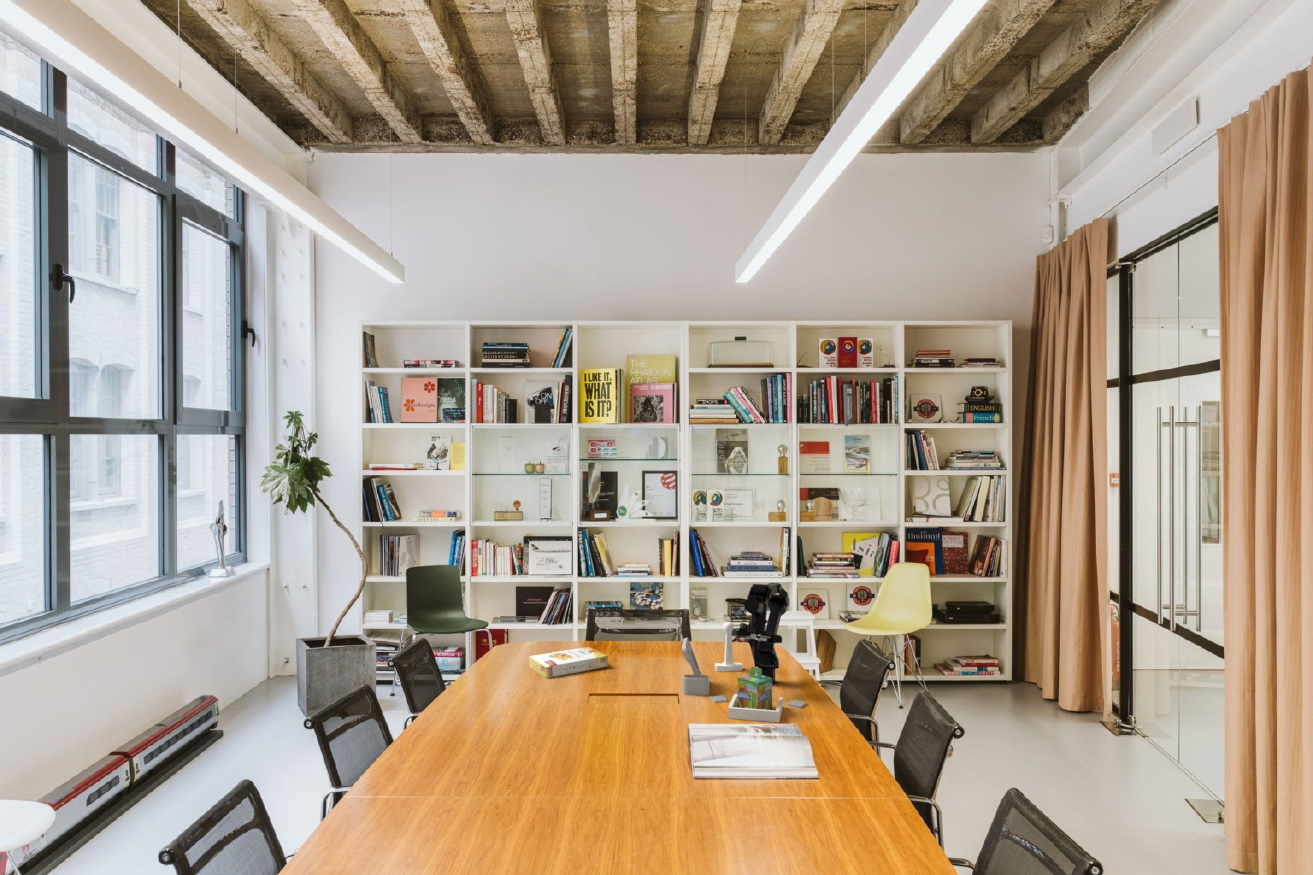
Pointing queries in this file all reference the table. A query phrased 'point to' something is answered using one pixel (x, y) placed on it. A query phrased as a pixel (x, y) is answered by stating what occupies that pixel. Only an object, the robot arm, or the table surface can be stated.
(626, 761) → the table surface
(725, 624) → the joystick
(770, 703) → the chalk box
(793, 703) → the tile
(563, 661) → the cereal box
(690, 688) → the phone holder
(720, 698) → the tile
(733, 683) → the table surface
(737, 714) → the corral
